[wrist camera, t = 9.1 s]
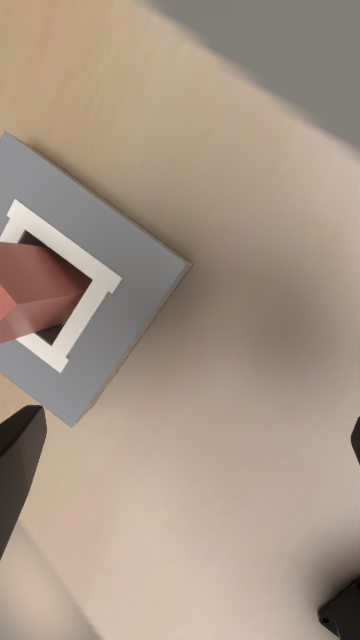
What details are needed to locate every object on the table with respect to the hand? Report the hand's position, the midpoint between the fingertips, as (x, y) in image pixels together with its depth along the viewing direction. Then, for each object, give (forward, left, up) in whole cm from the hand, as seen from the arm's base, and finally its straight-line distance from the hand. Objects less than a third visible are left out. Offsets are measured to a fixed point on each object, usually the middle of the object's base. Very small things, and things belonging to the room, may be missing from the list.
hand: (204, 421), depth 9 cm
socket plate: (+11, +5, -14) cm, 18 cm away
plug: (+11, +5, -14) cm, 18 cm away
